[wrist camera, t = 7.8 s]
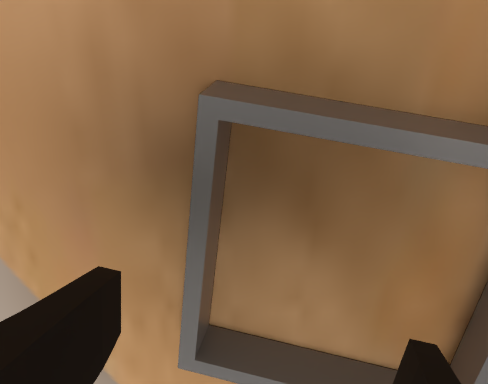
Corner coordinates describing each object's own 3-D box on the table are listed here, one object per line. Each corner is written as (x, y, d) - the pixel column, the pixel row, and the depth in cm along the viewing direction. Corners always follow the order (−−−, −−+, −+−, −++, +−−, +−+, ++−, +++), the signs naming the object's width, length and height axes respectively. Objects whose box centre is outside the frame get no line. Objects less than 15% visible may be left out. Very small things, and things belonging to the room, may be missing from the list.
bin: (575, 141, 17) (610, 166, 14) (454, 396, 23) (465, 442, 20) (216, 80, 18) (199, 94, 16) (193, 332, 24) (177, 367, 22)
